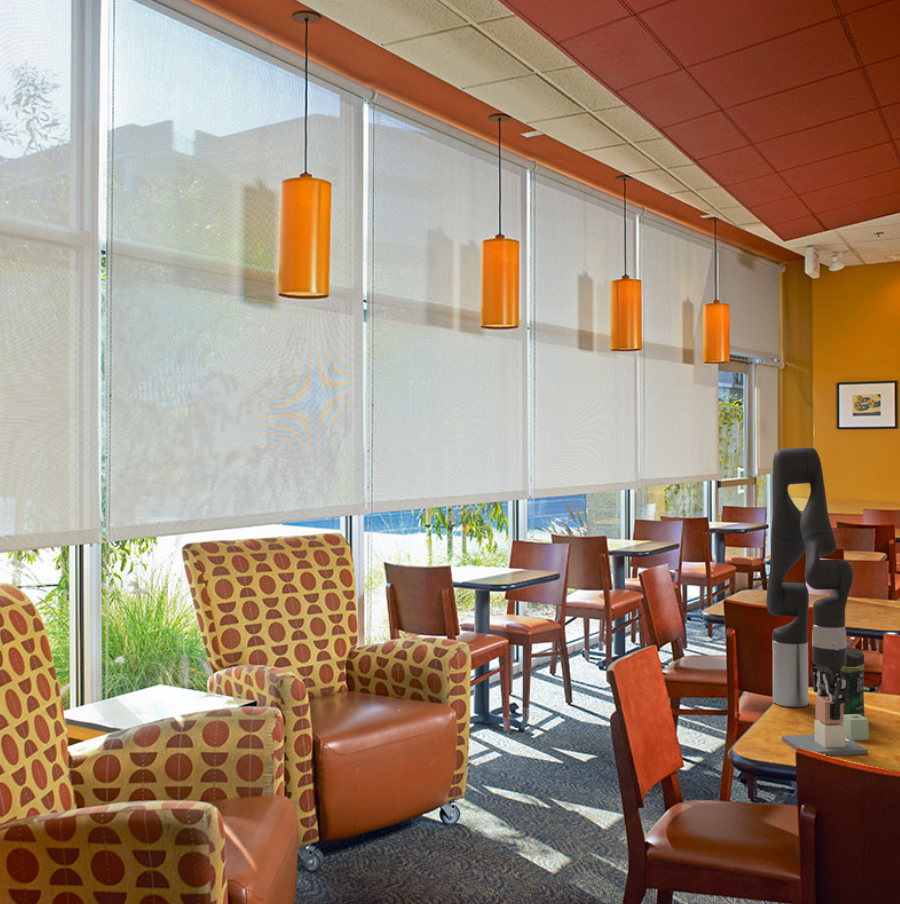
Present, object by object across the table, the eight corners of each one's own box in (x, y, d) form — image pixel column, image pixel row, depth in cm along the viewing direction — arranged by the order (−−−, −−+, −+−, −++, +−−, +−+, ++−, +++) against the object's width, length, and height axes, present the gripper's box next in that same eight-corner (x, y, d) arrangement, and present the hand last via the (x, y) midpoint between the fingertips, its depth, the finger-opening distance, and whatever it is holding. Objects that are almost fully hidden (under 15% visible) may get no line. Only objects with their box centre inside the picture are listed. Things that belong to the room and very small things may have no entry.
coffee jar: (855, 727, 234) (854, 654, 234) (823, 721, 239) (823, 649, 239) (869, 719, 241) (868, 648, 241) (838, 713, 246) (838, 643, 246)
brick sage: (841, 734, 229) (841, 713, 229) (858, 734, 229) (858, 712, 229) (850, 740, 224) (850, 718, 224) (868, 739, 225) (868, 717, 225)
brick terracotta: (815, 717, 221) (815, 695, 221) (833, 716, 221) (833, 694, 221) (824, 723, 216) (824, 700, 216) (843, 722, 217) (843, 700, 217)
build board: (781, 740, 225) (781, 715, 225) (841, 737, 226) (840, 713, 226) (805, 756, 213) (805, 730, 213) (867, 753, 214) (867, 728, 214)
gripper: (799, 638, 225) (800, 708, 226) (829, 651, 211) (829, 726, 211) (829, 637, 226) (829, 707, 226) (860, 650, 212) (860, 725, 212)
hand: (829, 716), depth 219 cm, fingers closed on brick terracotta, 4 cm apart
